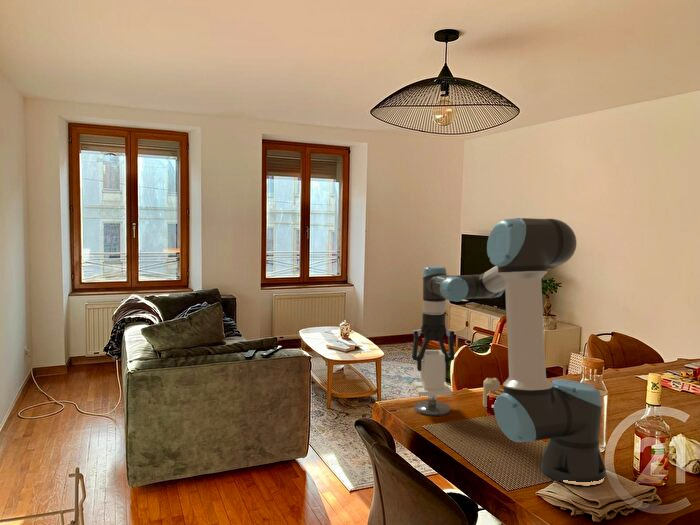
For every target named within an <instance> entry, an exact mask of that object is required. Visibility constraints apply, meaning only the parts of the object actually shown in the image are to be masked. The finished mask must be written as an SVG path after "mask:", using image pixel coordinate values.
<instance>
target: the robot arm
mask: <svg viewBox="0 0 700 525" xmlns="http://www.w3.org/2000/svg"><path fill="white" fill-rule="evenodd" d="M486 244H487V245H486V253H487V257H488V259H489V262H490V263H491V264H492V265H493V267H492V268H490V269H489V270H487V271H484V272H483V273H481V274H466V275H465V274H464V275H463V274H462V275H461V274H460V275H449V274H447V269H446V267H444V266H440V265H439V266H435V265H434V266H433V265H432V266H431V265H430V266H425V267H424V268H423V276H422V312H423V313H422V322H421V323H422V324H421V328H420V329H413V330H412V333H413V343H412V344H413V345H412V353H411V358H412V360H413V361H416V368H417V371H418V372H419V379H420V382H423V380H424V362H423V360H422V359H423V356H424V353H425V351H426V350H427V348H428V345H429V344H430V342H432V341H437V343H438V344H439V347H440V350H441V351H442V353H444V354H445V371H444V382H446V372H449V366H450V365H449V364H450V361H451V362H452V361H455V348H454V335H455V331H454V330H452V329H448V328H447V327H446V314H445V313H446V304H447V303H446V300H447V301H449V302H461V301H463V300H467V299H468V300H471V299H494V298H500V297H501V296H502V295H503V293H505V311H506V312H505V314H506V316H505V317H506V333H507V334H506V335H507V336H506V338H507V356H508V357H507V358H508V378H507V379H506V380H505V381H504V382H503V383H502V384H503V385H502V386H503V387H502V388H503V392H502V393H501V392H500V395H498V396H497V397H496V400H495V402H494V409H493V410H494V411H493V413H494V416H495V419H496V422H497V424H498V427H499V428H500V429H501V432H502V433H503V434H504V435H505V436H506V437H507V438H508V439H509V440H511V441H513V442H514V443H515V442H516V443H526V442H527V443H533V442H536V441H540V440H541V441H543V440H548V442H547V444H546V446H545V448H544V451H543V454H542V456H541V460H540V468H541V471H542V472H543V473H544V474H545V475H546V476H547V477H549V478H551V479H552V480H554V481H557V482H559V481H563V480H568V481H576V482H591V481H592V482H593V481H599V480H601V479H603V478H604V477H605V478H606V476H605V475H607V474H606V473H607V471H606V466H605V462H604V458H603V456H602V453H601V449H600V432H601V416H602V408H603V405H602V396H601V392H600V391H599V389H598V388H596V387H595V386H593V385H590V384H588V383H584V382H582V381H581V382H580V381H576V380H571V379H565V378H554V379H552V381H550V380H549V379H548V378H547V373H546V372H547V371H546V369H547V368H546V353H545V352H546V351H545V330H544V309H543V308H544V307H543V306H544V305H543V291H542V290H543V288H542V286H543V285H542V280H543V278H544V276H545V275H546V274H547V273H548V270H553V269H555V268H557V267H559V266H561V265H563V264H565V263H567V262H568V261H569V260H571V258H572V257H573V256H574V254H575V251H576V249H577V237H576V235H575V232H574V230H573V229H572V227H571V226H570V225H568V224H567V223H566V222H565V221H562V220H559V219H555V218H530V217H529V218H525V217H523V218H522V217H515V218H506V219H502V220H500V221H499V222H497V223H496V224H495V225H494V226H493V227H492V230H491V231H490V233H489V235H488V239H487V242H486ZM421 334H423V336H424V337H423V341H422V345H421V347H420V350H419V351H418V349H419V348H418V347H419V340H420V336H421ZM445 334H446V336H447V341H448V342H447V343H448V344H447V345H448V353H447V349H446V346H445V344H444V340H443V337H444V336H445Z"/></svg>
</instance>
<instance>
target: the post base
mask: <svg viewBox="0 0 700 525" xmlns="http://www.w3.org/2000/svg"><path fill="white" fill-rule="evenodd" d="M413 408H414V409H413V410H414V411H415V412H416V413H417V414H421V415H423V416H430V417H439V416H445V415H448V414H449V413H450V412H451V406H450V404H447V403H445V402H442V401H438V400H437V396H427V400H420V401H417V402H416V403H415V404H414V405H413Z"/></svg>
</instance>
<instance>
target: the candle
mask: <svg viewBox="0 0 700 525" xmlns="http://www.w3.org/2000/svg"><path fill="white" fill-rule="evenodd" d="M482 385H483V388H482V389H483V390H482V391H483V392H482V406H483V407H484V408H485V409H487V408H486V405H487V394H488V392H489V391H494V390H500V391H501V382H500V381H499V379H498V378H496V377H486V378H485V379H484V380H483V384H482Z"/></svg>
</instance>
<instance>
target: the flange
mask: <svg viewBox="0 0 700 525" xmlns="http://www.w3.org/2000/svg"><path fill="white" fill-rule="evenodd" d="M422 360H423V362H424V380H423V382H421V381H413V386H414V388H415V390H416V392H417V395H418V396H419V397H421V396H422V397H423V396H426V397H428V396H436V397H437V396H440V397H442V396H451V397H452V396H453V391H452V389H451V388H450V387H449V385H448V384H447V382H446V381H445V382H444V371H445V354H444V353H442V351H441V349H426V351H425V353H424V356H423V359H422Z"/></svg>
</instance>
